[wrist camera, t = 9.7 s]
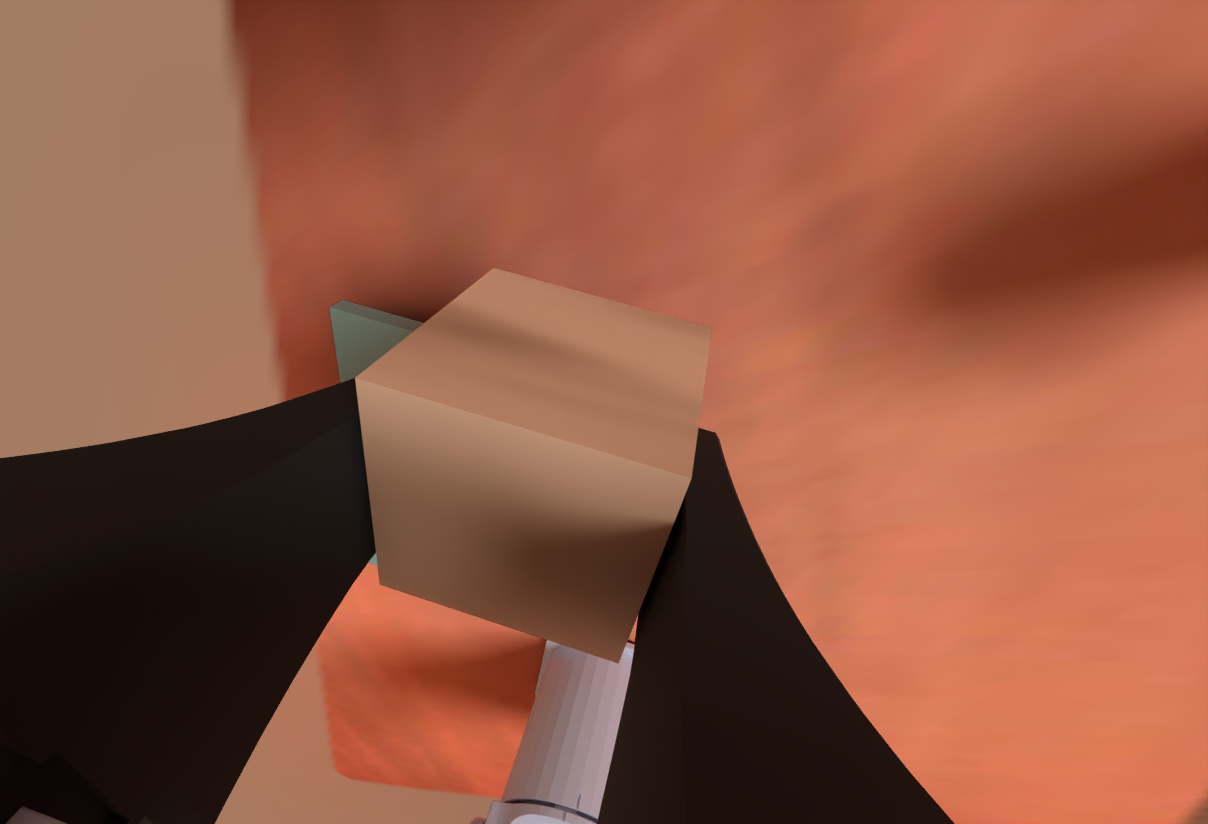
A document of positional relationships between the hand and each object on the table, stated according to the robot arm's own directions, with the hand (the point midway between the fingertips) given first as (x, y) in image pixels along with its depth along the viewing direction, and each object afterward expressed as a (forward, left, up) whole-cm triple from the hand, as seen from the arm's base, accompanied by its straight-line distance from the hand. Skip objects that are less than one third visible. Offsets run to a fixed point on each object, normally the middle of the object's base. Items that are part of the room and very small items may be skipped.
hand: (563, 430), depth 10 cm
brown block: (0, 0, -2) cm, 2 cm away
